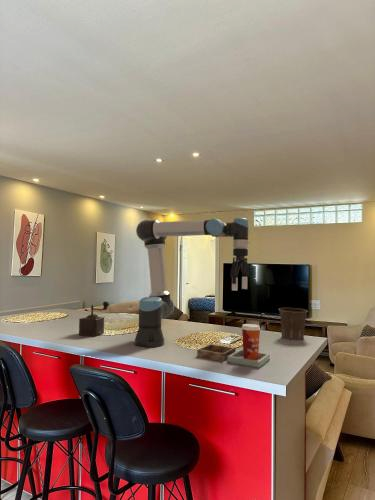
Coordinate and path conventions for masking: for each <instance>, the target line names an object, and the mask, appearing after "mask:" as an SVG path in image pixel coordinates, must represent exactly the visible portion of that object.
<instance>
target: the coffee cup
mask: <svg viewBox="0 0 375 500" xmlns="http://www.w3.org/2000/svg"><path fill="white" fill-rule="evenodd" d="M241 331H242V333H241V334H242V350H243V356H244V359H250V360H256V361H258V352H259V350H260V347H259V346H260V331H261V327H260V325H259V324H254V323H245V324H242V327H241Z"/></svg>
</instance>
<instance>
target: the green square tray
mask: <svg viewBox="0 0 375 500" xmlns="http://www.w3.org/2000/svg"><path fill="white" fill-rule="evenodd" d="M270 360H271V359H270V353H264V352H259V351H258V361H256V360H250V359H244V356H243V349H237V350H235V352H234V353H233V354H231V355H229V356H228V359H227V363H230V364H235V365H240V366H244V367H245V366H246V367H250V368H251V367H252V368H257V369H260V368H261V367H263V366H264V365H265V364H266V363H267V362H269V361H270Z"/></svg>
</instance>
